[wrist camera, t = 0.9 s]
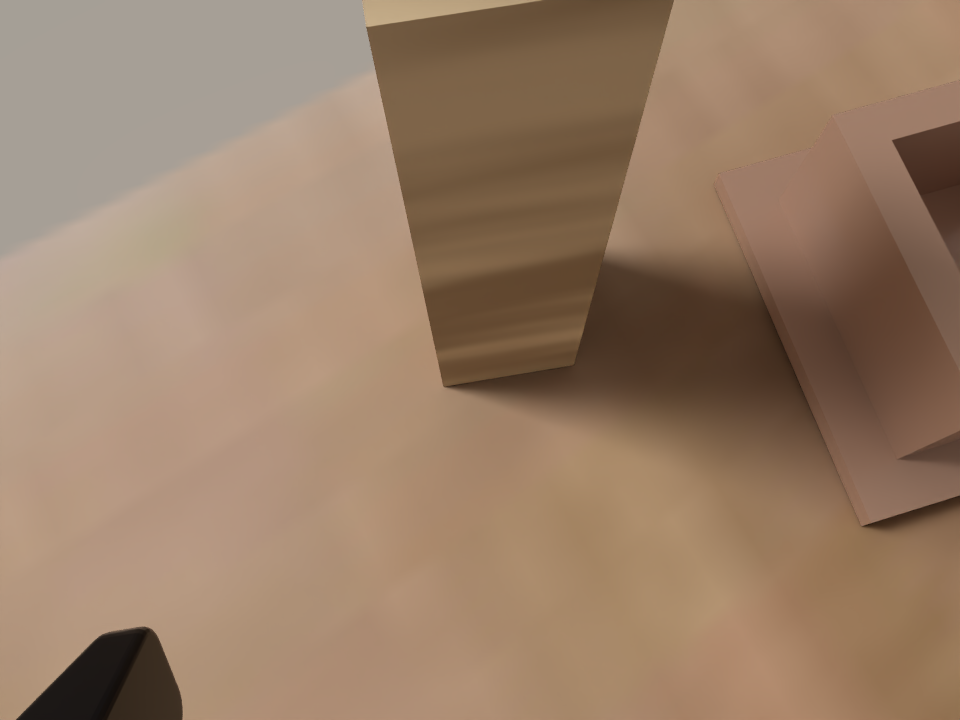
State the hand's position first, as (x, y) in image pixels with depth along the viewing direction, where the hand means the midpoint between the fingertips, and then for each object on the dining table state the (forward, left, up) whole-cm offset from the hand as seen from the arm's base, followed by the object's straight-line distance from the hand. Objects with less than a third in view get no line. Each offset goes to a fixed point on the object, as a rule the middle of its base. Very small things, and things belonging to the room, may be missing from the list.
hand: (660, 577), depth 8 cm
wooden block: (+8, -1, -14) cm, 16 cm away
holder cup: (+5, -13, -14) cm, 19 cm away
